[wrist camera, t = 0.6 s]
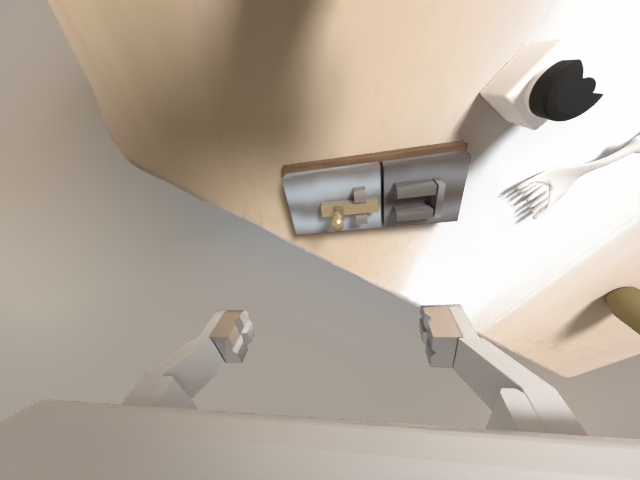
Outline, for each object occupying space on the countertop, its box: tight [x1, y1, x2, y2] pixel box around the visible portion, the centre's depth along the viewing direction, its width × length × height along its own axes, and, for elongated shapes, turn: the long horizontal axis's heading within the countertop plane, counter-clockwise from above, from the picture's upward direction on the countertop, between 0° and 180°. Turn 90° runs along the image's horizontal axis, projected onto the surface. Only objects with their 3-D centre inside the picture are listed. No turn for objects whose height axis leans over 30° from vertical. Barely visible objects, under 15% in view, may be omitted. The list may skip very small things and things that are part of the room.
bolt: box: [321, 196, 378, 231], centre depth 40 cm, size 2×10×7 cm, turn 99°
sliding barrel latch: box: [281, 141, 471, 235], centre depth 43 cm, size 14×32×8 cm, turn 99°
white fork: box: [516, 135, 640, 219], centre depth 36 cm, size 9×32×4 cm, turn 135°
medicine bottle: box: [480, 38, 612, 130], centre depth 30 cm, size 7×7×12 cm
